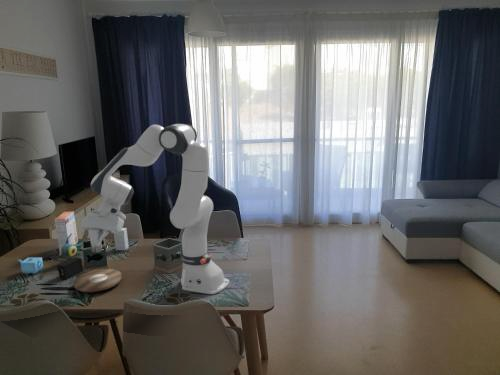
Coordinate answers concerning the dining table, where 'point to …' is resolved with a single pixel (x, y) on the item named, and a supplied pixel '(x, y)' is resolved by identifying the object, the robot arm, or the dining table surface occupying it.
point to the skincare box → (121, 240)
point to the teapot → (31, 265)
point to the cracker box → (66, 229)
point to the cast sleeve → (95, 240)
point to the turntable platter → (97, 280)
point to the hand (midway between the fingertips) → (94, 239)
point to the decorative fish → (70, 249)
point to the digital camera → (70, 268)
